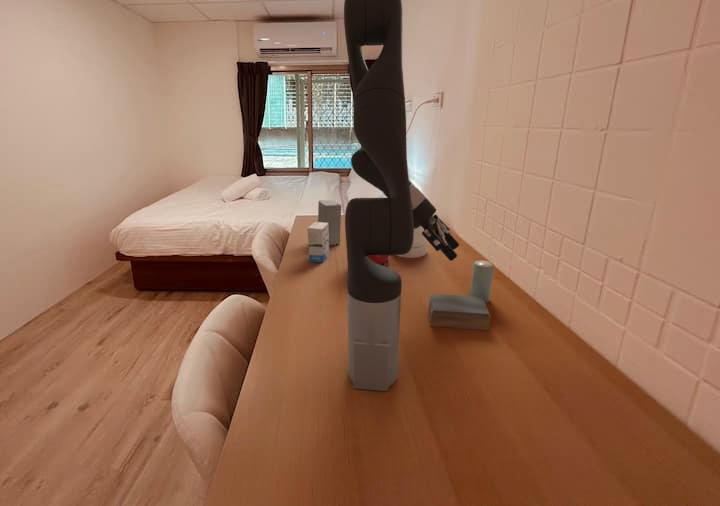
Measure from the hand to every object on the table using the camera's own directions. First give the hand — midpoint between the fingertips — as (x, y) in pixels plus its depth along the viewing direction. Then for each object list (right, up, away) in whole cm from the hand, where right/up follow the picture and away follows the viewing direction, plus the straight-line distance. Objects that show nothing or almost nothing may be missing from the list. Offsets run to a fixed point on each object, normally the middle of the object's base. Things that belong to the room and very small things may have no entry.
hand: (455, 252), depth 96 cm
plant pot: (-21, -5, +23) cm, 32 cm away
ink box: (-39, -2, +31) cm, 49 cm away
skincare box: (-36, +4, +46) cm, 59 cm away
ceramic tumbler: (+7, -12, +2) cm, 14 cm away
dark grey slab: (-1, -16, -7) cm, 17 cm away
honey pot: (-7, 0, +37) cm, 38 cm away
